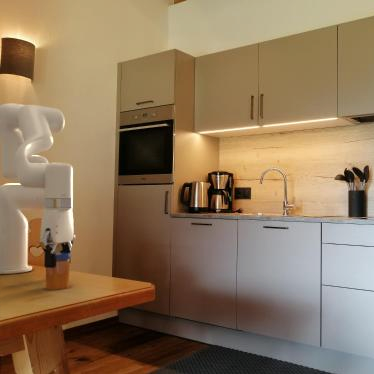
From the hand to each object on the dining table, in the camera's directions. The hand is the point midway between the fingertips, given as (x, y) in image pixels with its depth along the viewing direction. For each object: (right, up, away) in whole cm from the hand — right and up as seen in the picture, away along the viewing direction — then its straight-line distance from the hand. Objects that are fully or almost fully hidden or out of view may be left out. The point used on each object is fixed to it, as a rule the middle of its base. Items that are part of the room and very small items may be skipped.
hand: (57, 264), depth 124 cm
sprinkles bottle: (-7, -7, +14) cm, 17 cm away
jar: (0, -7, 0) cm, 7 cm away
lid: (0, +3, 0) cm, 3 cm away
